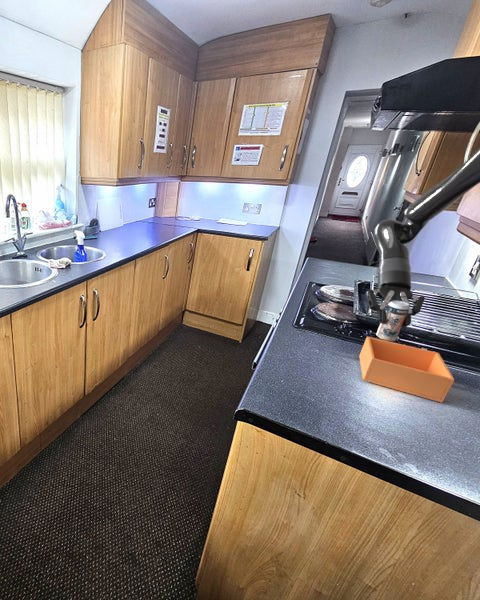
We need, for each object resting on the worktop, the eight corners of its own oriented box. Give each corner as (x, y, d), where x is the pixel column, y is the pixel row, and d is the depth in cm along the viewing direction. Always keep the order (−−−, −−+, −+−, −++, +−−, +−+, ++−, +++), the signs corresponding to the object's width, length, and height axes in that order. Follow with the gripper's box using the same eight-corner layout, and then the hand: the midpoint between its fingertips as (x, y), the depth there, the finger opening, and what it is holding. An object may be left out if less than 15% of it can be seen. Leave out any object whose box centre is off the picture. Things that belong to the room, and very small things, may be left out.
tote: (428, 373, 91) (438, 352, 89) (442, 402, 80) (454, 379, 77) (359, 355, 99) (367, 336, 97) (363, 380, 88) (372, 358, 85)
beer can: (376, 339, 101) (390, 304, 96) (374, 332, 105) (388, 298, 100) (396, 343, 99) (412, 307, 94) (394, 336, 102) (409, 302, 97)
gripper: (371, 266, 103) (369, 315, 98) (431, 272, 98) (433, 324, 92) (360, 277, 110) (358, 324, 104) (416, 284, 104) (417, 333, 99)
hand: (393, 324), depth 98 cm, fingers closed on beer can, 4 cm apart
